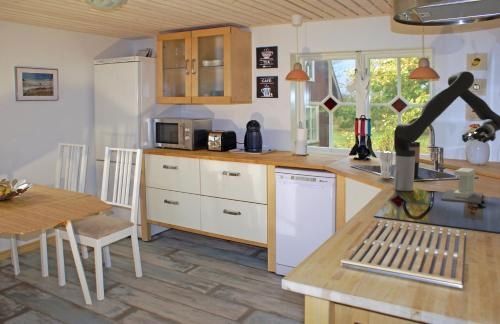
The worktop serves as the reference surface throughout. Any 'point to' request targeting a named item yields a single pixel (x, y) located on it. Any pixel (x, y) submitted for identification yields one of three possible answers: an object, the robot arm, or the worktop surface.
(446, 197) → the mat
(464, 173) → the tall sage green block
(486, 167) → the worktop surface
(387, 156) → the beer glass
